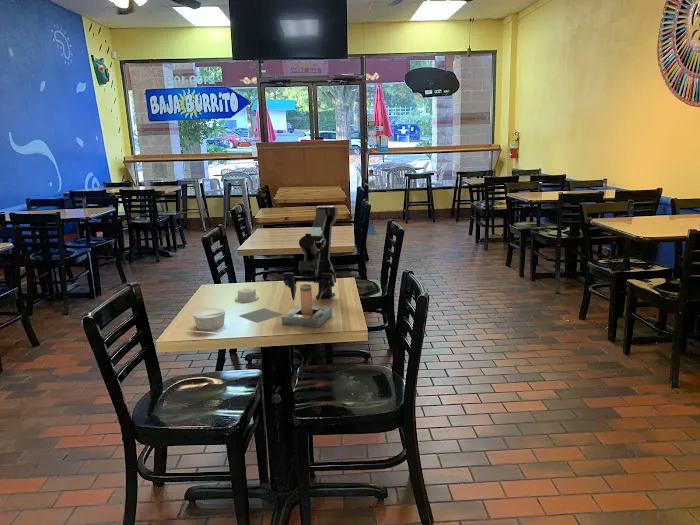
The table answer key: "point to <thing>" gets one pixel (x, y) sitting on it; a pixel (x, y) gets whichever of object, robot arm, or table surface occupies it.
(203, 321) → the ramekin
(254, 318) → the mat
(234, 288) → the table surface
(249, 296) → the mechanical component
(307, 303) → the peg
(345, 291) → the table surface
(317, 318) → the flange plate
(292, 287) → the robot arm
